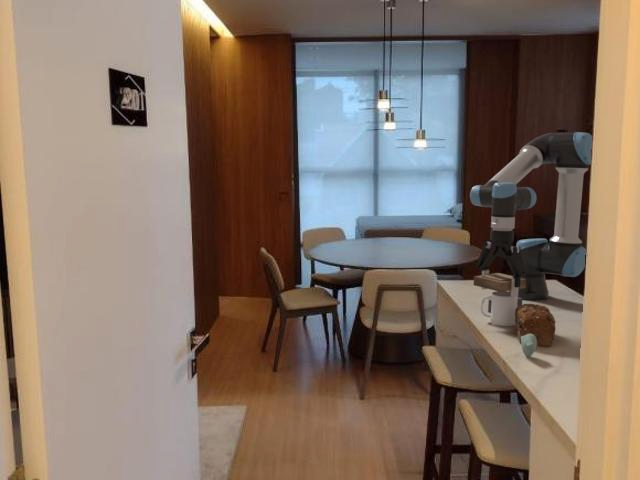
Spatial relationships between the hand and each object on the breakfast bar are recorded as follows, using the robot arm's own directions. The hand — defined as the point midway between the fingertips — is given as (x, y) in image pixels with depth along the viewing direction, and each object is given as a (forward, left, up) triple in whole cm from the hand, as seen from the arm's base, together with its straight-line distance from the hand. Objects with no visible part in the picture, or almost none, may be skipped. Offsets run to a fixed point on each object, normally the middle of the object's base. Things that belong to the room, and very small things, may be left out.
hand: (499, 292), depth 204 cm
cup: (0, 0, -11) cm, 11 cm away
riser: (-13, -8, -10) cm, 18 cm away
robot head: (+20, +29, -11) cm, 36 cm away
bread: (+4, +17, -11) cm, 21 cm away
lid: (0, 0, +2) cm, 2 cm away
